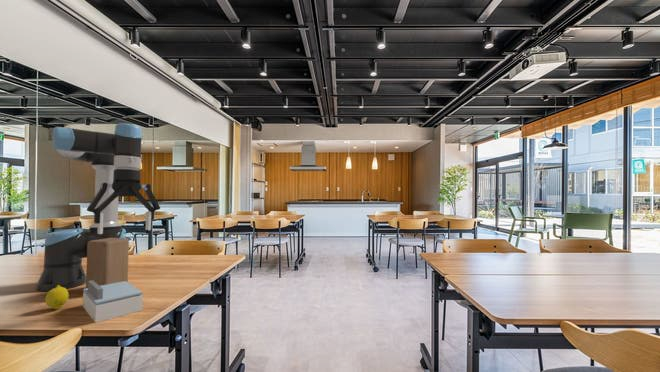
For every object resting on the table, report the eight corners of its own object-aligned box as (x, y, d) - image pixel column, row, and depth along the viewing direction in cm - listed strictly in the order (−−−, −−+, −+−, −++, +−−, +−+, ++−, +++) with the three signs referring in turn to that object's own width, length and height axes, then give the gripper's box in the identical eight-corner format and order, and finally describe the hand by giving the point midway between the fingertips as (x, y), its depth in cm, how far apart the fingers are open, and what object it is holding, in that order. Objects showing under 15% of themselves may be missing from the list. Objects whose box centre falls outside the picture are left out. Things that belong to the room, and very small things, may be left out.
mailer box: (82, 306, 95) (83, 291, 95) (125, 296, 104) (125, 283, 104) (95, 322, 83) (96, 305, 83) (142, 310, 92) (142, 294, 92)
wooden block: (105, 294, 107) (106, 241, 108) (84, 292, 109) (86, 240, 110) (128, 286, 117) (130, 238, 118) (109, 284, 119) (110, 237, 120)
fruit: (55, 306, 95) (56, 282, 95) (72, 305, 96) (73, 282, 96) (39, 313, 90) (40, 287, 90) (58, 312, 90) (59, 287, 90)
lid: (83, 290, 95) (83, 280, 95) (125, 282, 104) (125, 272, 104) (96, 304, 83) (96, 292, 83) (142, 293, 92) (143, 282, 92)
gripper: (82, 165, 84) (79, 236, 83) (170, 171, 103) (169, 229, 102) (76, 167, 88) (73, 234, 87) (162, 172, 108) (161, 227, 107)
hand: (125, 231), depth 95 cm, fingers open, 13 cm apart
